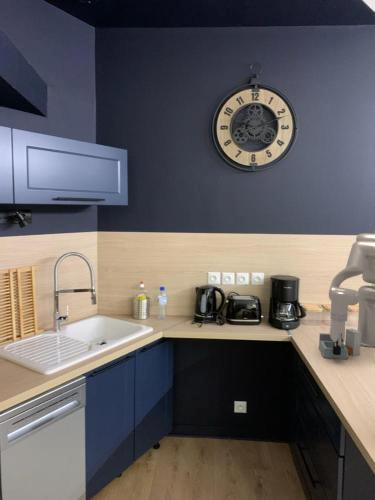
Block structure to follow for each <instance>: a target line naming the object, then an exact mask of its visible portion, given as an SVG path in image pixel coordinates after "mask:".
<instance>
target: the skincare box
mask: <svg viewBox="0 0 375 500" xmlns="http://www.w3.org/2000/svg"><path fill="white" fill-rule="evenodd" d="M360 340H361V332H360V331H358V329H355V328H347V329H346V328H345V339H344V342H345V343H344V345H345V346H346V347H347V349H348V355H351V356H352V357H355V356H360V354H361V353H360V352H361V345H360Z"/></svg>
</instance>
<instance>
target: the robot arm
mask: <svg viewBox="0 0 375 500" xmlns="http://www.w3.org/2000/svg"><path fill="white" fill-rule="evenodd" d="M360 275H361V278H362V280H363V282H365V283H367V284H371V285H366V284H365V285H361V286H360V287H359V288H358V290H355V289H351V288H344V287H340V286H341V284H342V283H343V282H344V281H346V280H348V279H350V278H351V279H352V278H354V277H357V276H360ZM372 284H374V285H375V233H370V232H369V233H368V232H367V233H366V232H364V233H360V234H357V236H356V238H355V241H354V242H353V243H352V245H351V249H350V251H349V255H348V259H347V262H346V265H345V268H343V269H342V270H340V271H339V272H337V274H336V275H335V276H334V277H333V279H332V281H331V284H330V287H329V291H328V298H329V300H330V315H329V316H330V318H329V319H330V327H329V328H330V329H329V334H330V337H331V339H332V340H333V354H334V355H340V354H341V342H343V343H344V342H345V340H346V322H348V314H349V313H348V312H349V306H355V305H357V304H358V314H357V315H358V316H357V317H358V319H357V322H358V323H357V331H360V332H361V340H360V346H361V347H367V348H375V286H374V285H372Z"/></svg>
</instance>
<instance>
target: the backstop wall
mask: <svg viewBox="0 0 375 500" xmlns="http://www.w3.org/2000/svg"><path fill="white" fill-rule="evenodd" d="M320 340H321V341H333V340H332V339H331V337H330V333H322V332H320V333H319V340H318V341H319V343H318V349H319V350H320Z"/></svg>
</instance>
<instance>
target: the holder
mask: <svg viewBox="0 0 375 500" xmlns="http://www.w3.org/2000/svg"><path fill="white" fill-rule="evenodd" d="M319 351H320V352H321V354H322V356H323V358H329V359H343V360H349V354H348V349H347V347H346V346H345V343H344V342H341V354H340V355H334V354H333V341H321V340H320V349H319Z"/></svg>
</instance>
